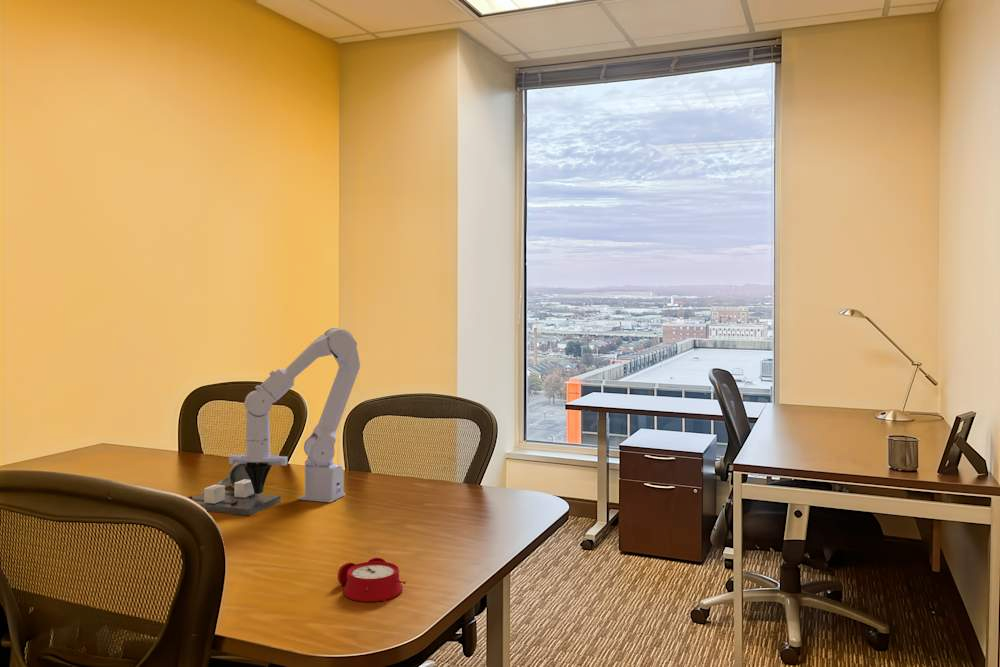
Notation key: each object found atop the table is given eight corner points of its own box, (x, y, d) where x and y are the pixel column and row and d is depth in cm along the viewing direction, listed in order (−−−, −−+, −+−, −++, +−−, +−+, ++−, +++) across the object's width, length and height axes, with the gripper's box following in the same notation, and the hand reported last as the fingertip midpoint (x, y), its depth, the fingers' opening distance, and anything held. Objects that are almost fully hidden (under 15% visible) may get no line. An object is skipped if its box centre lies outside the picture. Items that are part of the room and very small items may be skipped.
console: (280, 501, 199) (280, 494, 199) (248, 515, 187) (248, 507, 187) (214, 494, 205) (214, 487, 205) (179, 507, 193) (179, 499, 193)
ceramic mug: (258, 482, 219) (257, 455, 218) (258, 489, 211) (258, 461, 211) (217, 486, 215) (216, 458, 215) (217, 493, 208) (216, 464, 207)
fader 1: (225, 499, 195) (224, 485, 194) (214, 503, 191) (214, 489, 191) (215, 498, 196) (214, 484, 195) (204, 502, 192) (204, 487, 192)
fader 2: (254, 493, 200) (254, 479, 200) (244, 497, 196) (244, 483, 196) (244, 492, 201) (244, 478, 201) (234, 496, 197) (234, 482, 197)
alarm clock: (358, 589, 133) (329, 545, 145) (355, 621, 134) (327, 575, 147) (414, 578, 138) (382, 536, 150) (411, 609, 140) (379, 565, 152)
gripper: (292, 436, 200) (292, 489, 201) (237, 435, 201) (238, 487, 202) (281, 442, 193) (281, 496, 194) (224, 440, 194) (225, 494, 195)
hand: (258, 492), depth 197 cm, fingers closed
